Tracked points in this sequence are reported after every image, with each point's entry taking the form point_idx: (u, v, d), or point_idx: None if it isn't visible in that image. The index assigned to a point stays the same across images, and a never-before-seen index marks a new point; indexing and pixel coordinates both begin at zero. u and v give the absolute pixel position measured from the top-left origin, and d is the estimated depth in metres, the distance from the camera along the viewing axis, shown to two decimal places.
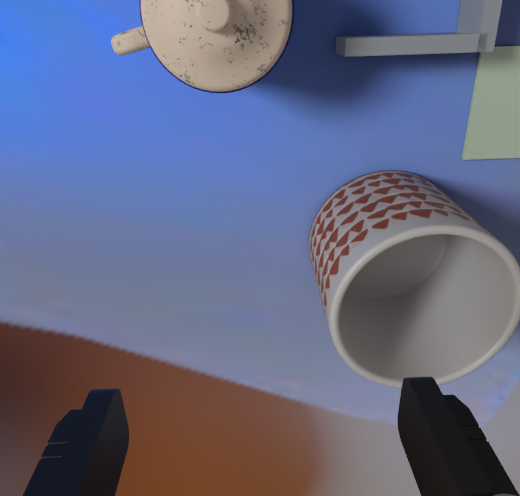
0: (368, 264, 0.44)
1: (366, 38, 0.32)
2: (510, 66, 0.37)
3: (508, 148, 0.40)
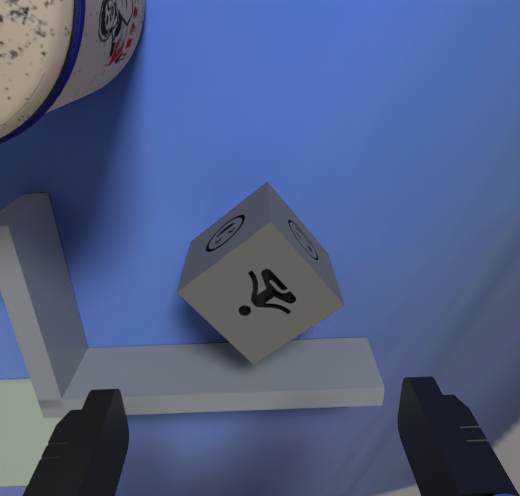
0: None
1: (16, 257, 0.19)
2: None
3: None
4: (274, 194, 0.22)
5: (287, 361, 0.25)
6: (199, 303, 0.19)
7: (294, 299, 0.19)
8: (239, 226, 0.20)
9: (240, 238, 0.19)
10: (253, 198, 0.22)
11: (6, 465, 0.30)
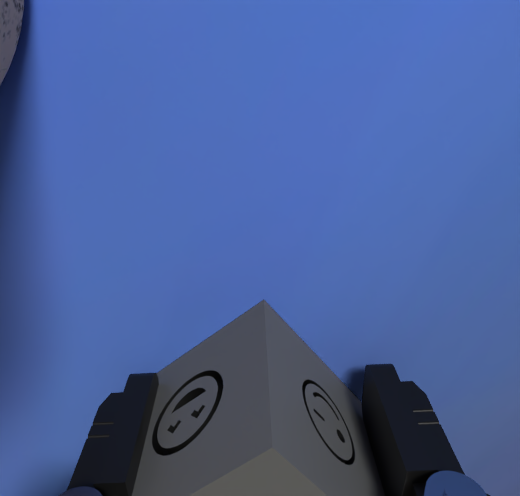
0: None
1: None
2: None
3: None
4: (276, 328, 0.12)
5: None
6: None
7: None
8: (212, 409, 0.11)
9: (211, 457, 0.09)
10: (238, 334, 0.12)
11: None
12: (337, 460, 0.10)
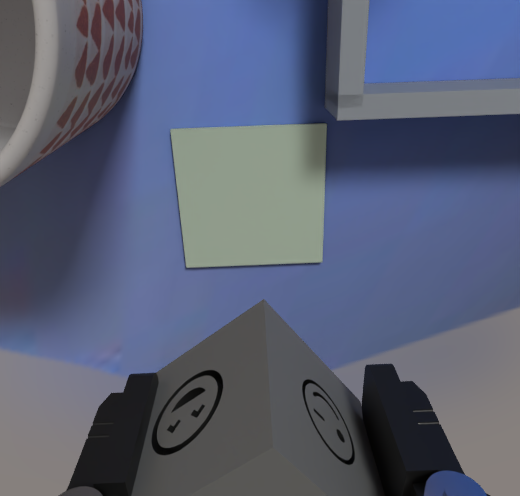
0: None
1: None
2: (300, 168, 0.27)
3: (192, 191, 0.28)
4: (276, 327, 0.12)
5: None
6: None
7: None
8: (212, 409, 0.11)
9: (211, 457, 0.09)
10: (238, 334, 0.12)
11: (228, 238, 0.29)
12: (337, 460, 0.10)
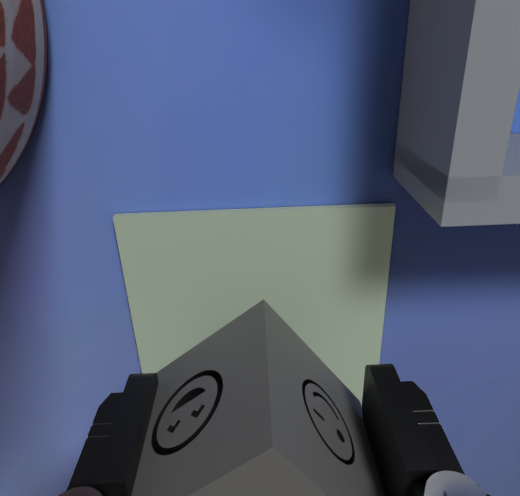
0: None
1: None
2: (345, 277, 0.16)
3: (156, 314, 0.16)
4: (276, 327, 0.12)
5: None
6: None
7: None
8: (211, 409, 0.11)
9: (211, 457, 0.09)
10: (238, 334, 0.12)
11: None
12: (337, 460, 0.10)
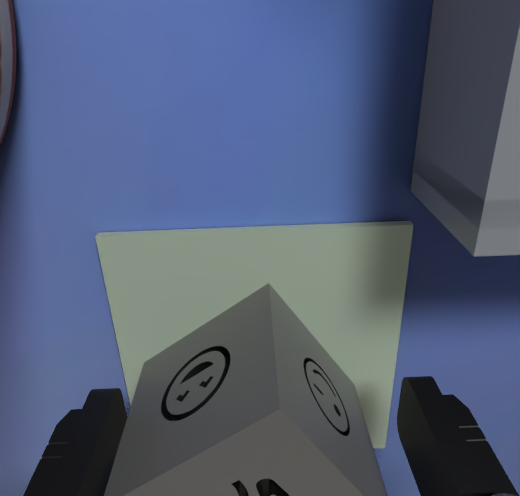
0: None
1: None
2: (355, 302, 0.14)
3: (145, 342, 0.15)
4: (280, 309, 0.13)
5: None
6: None
7: None
8: (220, 379, 0.11)
9: (220, 420, 0.10)
10: (244, 314, 0.13)
11: None
12: (334, 430, 0.11)
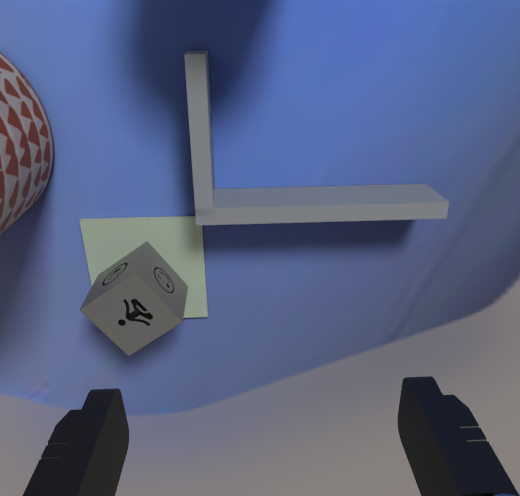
0: None
1: (205, 80, 0.27)
2: (183, 248, 0.35)
3: (99, 264, 0.36)
4: (149, 250, 0.35)
5: (372, 193, 0.33)
6: (93, 317, 0.32)
7: (152, 317, 0.32)
8: (122, 271, 0.33)
9: (119, 279, 0.31)
10: (136, 251, 0.34)
11: None
12: (162, 288, 0.33)
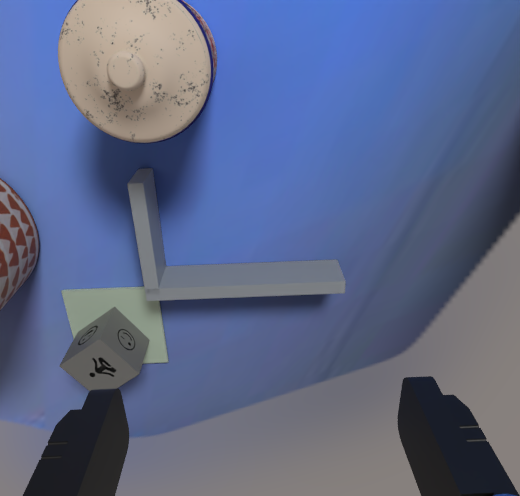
0: None
1: (144, 201, 0.36)
2: (144, 310, 0.45)
3: (79, 323, 0.45)
4: (116, 314, 0.44)
5: (289, 270, 0.41)
6: (70, 370, 0.41)
7: (116, 370, 0.42)
8: (92, 334, 0.42)
9: (89, 343, 0.41)
10: (105, 316, 0.44)
11: None
12: (123, 347, 0.42)
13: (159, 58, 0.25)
